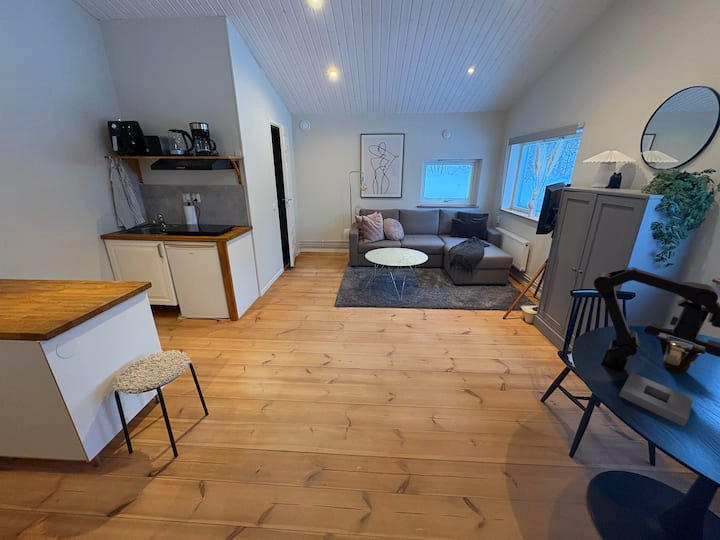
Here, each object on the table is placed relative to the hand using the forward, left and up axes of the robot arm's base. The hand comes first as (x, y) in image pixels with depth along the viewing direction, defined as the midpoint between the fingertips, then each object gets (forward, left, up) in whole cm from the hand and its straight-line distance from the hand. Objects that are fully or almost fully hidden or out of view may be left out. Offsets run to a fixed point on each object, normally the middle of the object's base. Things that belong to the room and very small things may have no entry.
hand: (672, 358), depth 104 cm
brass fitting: (0, 0, -2) cm, 2 cm away
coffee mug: (+1, +14, -11) cm, 18 cm away
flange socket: (0, -14, -11) cm, 18 cm away
